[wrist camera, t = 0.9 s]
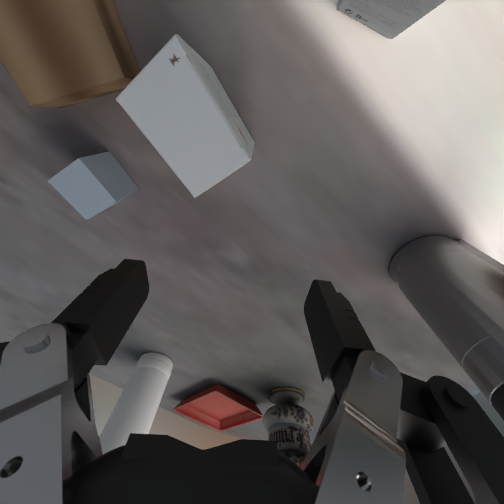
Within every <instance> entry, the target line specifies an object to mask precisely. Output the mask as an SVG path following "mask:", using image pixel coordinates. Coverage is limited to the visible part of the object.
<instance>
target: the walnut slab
mask: <svg viewBox="0 0 504 504" xmlns="http://www.w3.org/2000/svg"><path fill="white" fill-rule="evenodd" d="M0 60H1V62H2V63H3V65H4V66H5V68H6V69H7V71H8V73H9V74H10V76H11V77H12V79H13V80H14V82H15V84H16V85H17V87H18V88H19V90H20V91H21V93H22V95H23V96H24V98H25V99H26V101H27V102H28V104H29V106H37V107H58V108H62V107H65V106H69V105H72V104H75V103H79V102H82V101H86V100H89V99H92V98H96V97H99V96H103V95H106V94H109V93H113V92H116V91H119V90H123V89H125V88H126V87H127V85H128V84H129V83H130V82H131V81H132V80H133V79H134V78H135V77H136V76H137V75H138V74H139V73H140V70H139V67H138V65H137V62H136V60H135V57H134V54H133V52H132V49H131V46H130V44H129V41H128V38H127V36H126V33H125V30H124V28H123V25H122V22H121V20H120V17H119V14H118V12H117V9H116V7H115V4H114V1H113V0H0Z"/></svg>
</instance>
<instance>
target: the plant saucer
mask: <svg viewBox="0 0 504 504" xmlns="http://www.w3.org/2000/svg"><path fill="white" fill-rule="evenodd" d="M174 411H176V412H178V413H181V414H183V415H185V416H187V417H190V418H192V419H194V420H196V421H199V422H201V423H203V424H205V425H208V426H210V427H212V428H214V429H217V430H219V431H223V430H226V429H229V428H232V427H236V426H239V425H242V424H245V423H248V422H252V421H255V420H258V419H261V418H263V415H262V413H261V412H260V410H259V409H258V408H257V406H256V405H255V404H254V403H252V402H250V401H248V400H247V399H245V398H243V397H241V396H239V395H237V394H236V393H234V392H232V391H230V390H228V389H226V388H225V387H223V386H221V385H215V386H212V387H210V388H208V389H206V390H204V391H202V392H199V393H197V394H195V395H193V396H191V397H188V398H186V399H185V400H183V401H182V402H181V403H180V404H178V405H177V406H176V407H175V408H174Z"/></svg>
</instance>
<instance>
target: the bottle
mask: <svg viewBox="0 0 504 504" xmlns="http://www.w3.org/2000/svg"><path fill="white" fill-rule="evenodd" d="M172 368H173V362H172V361H171V359H170V358H168V357H167V356H165V355H163V354H160V353H153V352H150V353H145V354H143V355H142V356H141V357H140V359H139V361H138V362H137V364H136V366H135V368H134V370H133V373H132V375H131V376H130V378H129V380H128V382H127V384H126V386H125V388H124V390H123V392H122V394H121V396H120V398H119V400H118V402H117V404H116V406H115V408H114V410H113V412H112V413H111V416H110V417H109V419H108V421H107V423H106V425H105V427H104V429H103V431H102V433H101V435H100V437H99V439H100V443H101V448H102V453H103V454H105V453H107V452H109V451H111V450H113V449H115V448H118V447H120V446H123V445H126V443H127V440H128V437H129V435H130V433H136V434H149V431H150V428H151V425H152V422H153V420H154V417H155V414H156V411H157V409H158V406H159V403H160V401H161V398H162V395H163V392H164V390H165V387H166V384H167V381H168V379H169V377H170V375H171V370H172Z"/></svg>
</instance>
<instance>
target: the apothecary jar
mask: <svg viewBox="0 0 504 504" xmlns="http://www.w3.org/2000/svg"><path fill="white" fill-rule="evenodd" d="M267 396H268V399H269V400H270V401H271V402H272V403H274V404H276V405H275V406H273V407H271V408H269V409H268V410H267V411H266V413H265V415H264V418H263V423H264V426H265V428H266V430H267V431H268V435H269V441H277V452H279V453H281V454H283V455H284V456H286V457H288V458H289V459H291V460H292V461H293V462H294V463H296V464H297V465H298V466H299V467H300V468H302V465H303V463H304V460H305V458H306V456H307V454H308V452H309V450H310V448H311V445H310V433H311V431H312V429H313V419H312V416H311V415H310V413H309V412H308V411H307V410H306V409H304V408H303V407H301V406H298V404H300V403H302V402H303V401H304V399H305V394H304V393H303V392H302V391H300V390H298V389H296V388H291V387H279V388H275V389H273V390H272V391H271V393H268V395H267Z"/></svg>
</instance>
